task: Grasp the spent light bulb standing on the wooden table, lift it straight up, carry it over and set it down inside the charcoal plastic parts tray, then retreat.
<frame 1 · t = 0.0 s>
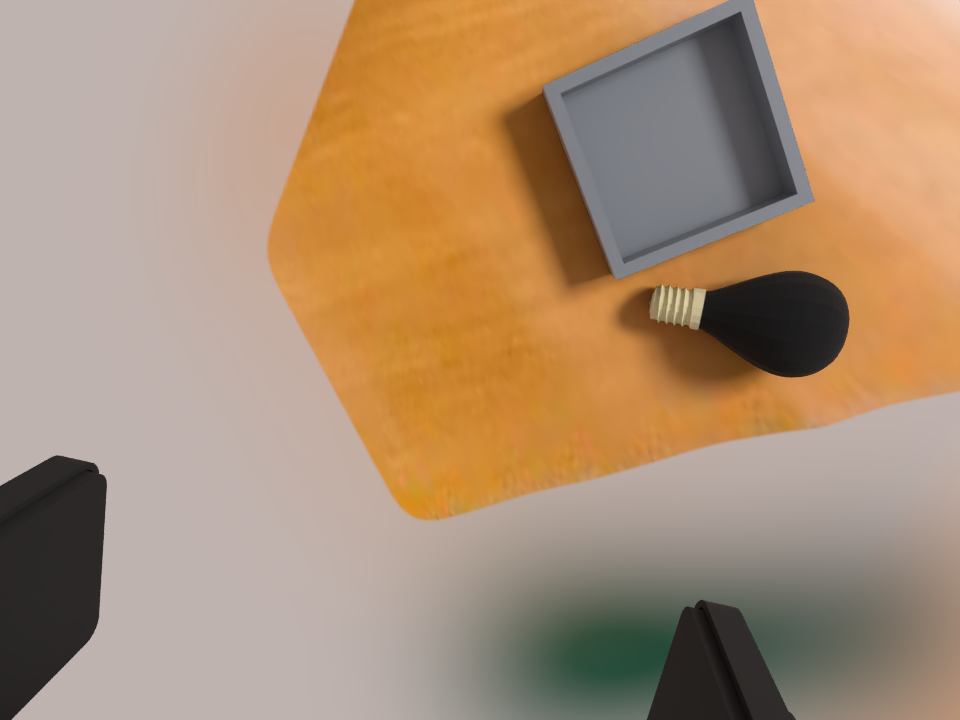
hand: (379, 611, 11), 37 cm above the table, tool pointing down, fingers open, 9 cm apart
parts tray: (669, 146, 43), on the table
light bulb: (734, 302, 46), on the table
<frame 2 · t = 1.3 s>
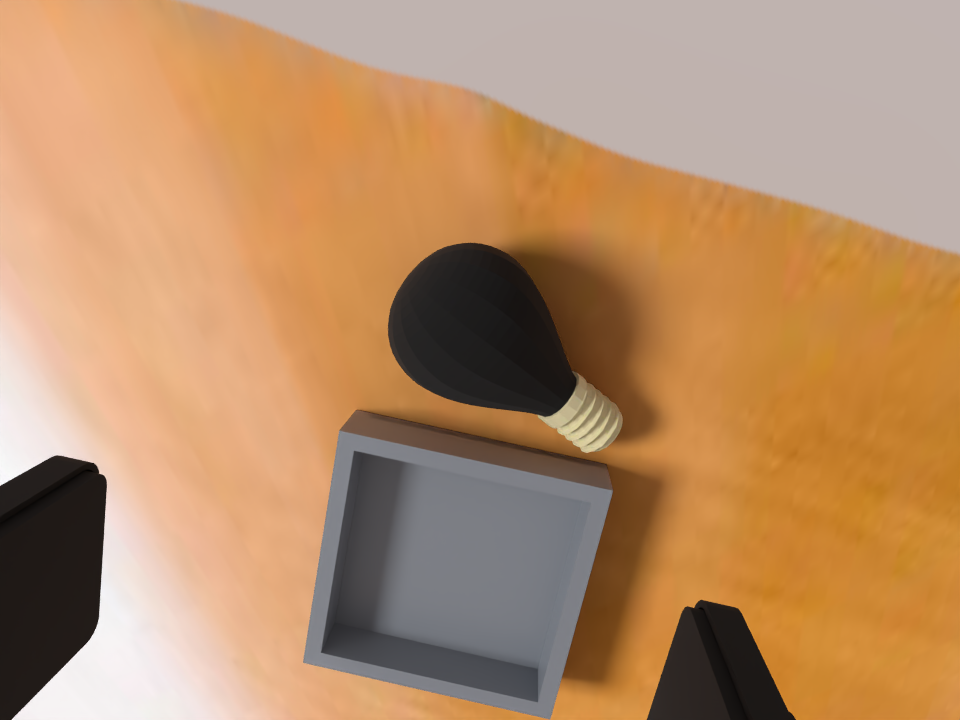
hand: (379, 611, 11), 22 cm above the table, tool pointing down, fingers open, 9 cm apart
parts tray: (456, 548, 35), on the table
light bulb: (509, 351, 32), on the table
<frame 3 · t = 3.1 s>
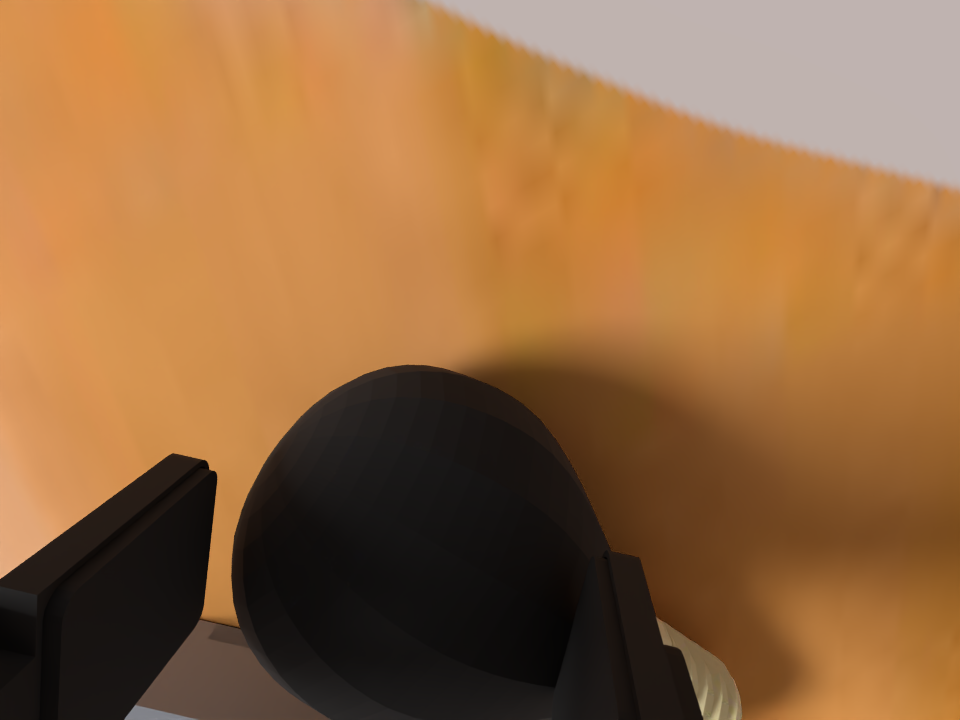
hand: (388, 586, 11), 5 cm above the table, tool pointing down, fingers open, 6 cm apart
light bulb: (508, 547, 17), on the table, touching gripper
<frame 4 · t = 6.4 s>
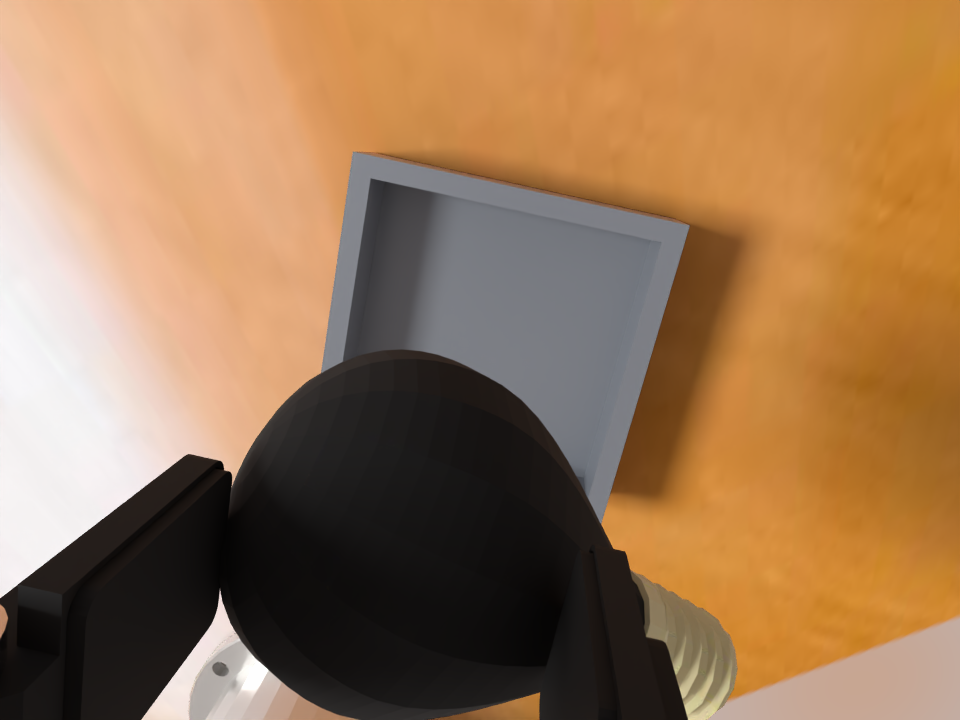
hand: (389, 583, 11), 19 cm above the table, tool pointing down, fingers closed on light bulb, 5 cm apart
parts tray: (490, 331, 29), on the table
light bulb: (502, 517, 17), point 13 cm above the table, touching gripper
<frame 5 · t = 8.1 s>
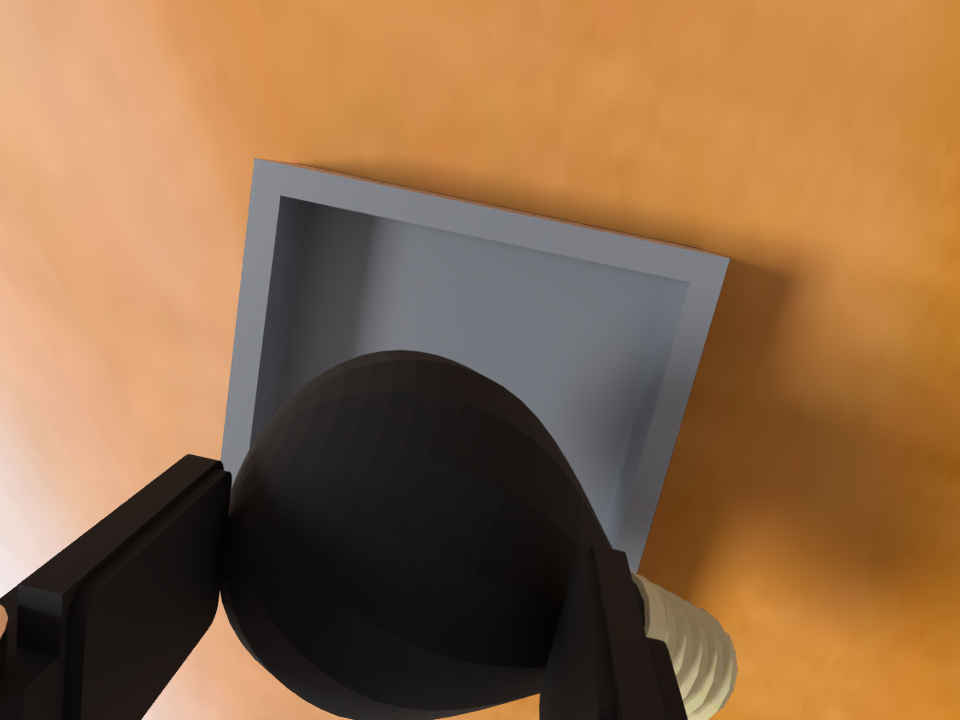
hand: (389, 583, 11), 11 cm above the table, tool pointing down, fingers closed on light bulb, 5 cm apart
parts tray: (456, 400, 22), on the table
light bulb: (502, 517, 17), point 6 cm above the table, touching gripper
when the fingers open (8 cm above the table, at t = 9.5 s): light bulb moves 1 cm, resting on parts tray.
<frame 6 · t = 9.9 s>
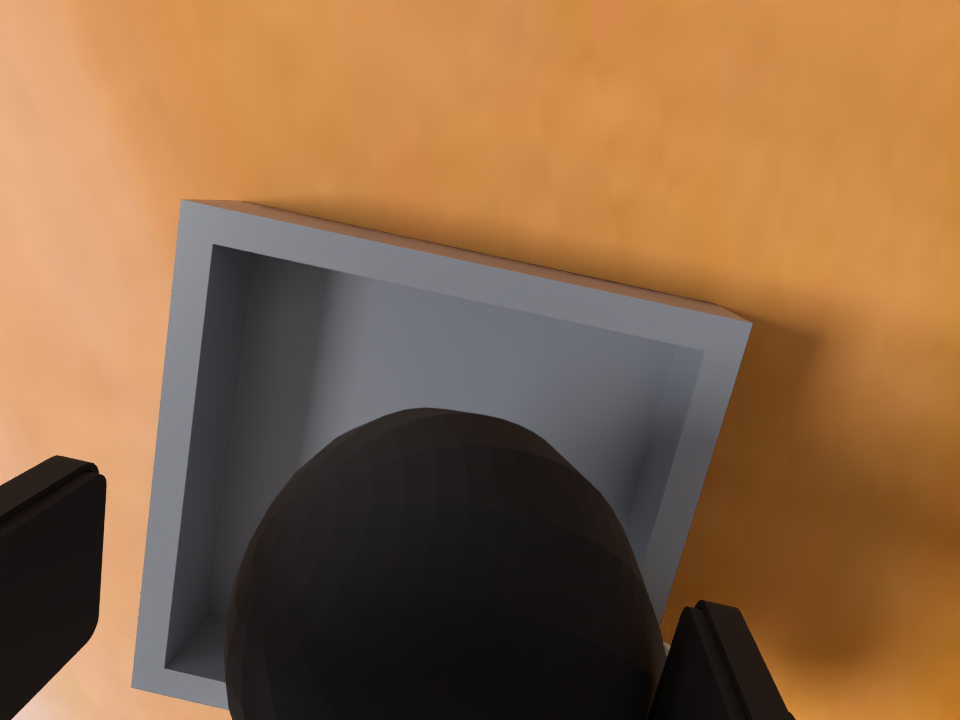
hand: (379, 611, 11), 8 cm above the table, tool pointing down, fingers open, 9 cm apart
parts tray: (429, 474, 19), on the table
light bulb: (494, 596, 15), point 4 cm above the table, touching gripper, parts tray
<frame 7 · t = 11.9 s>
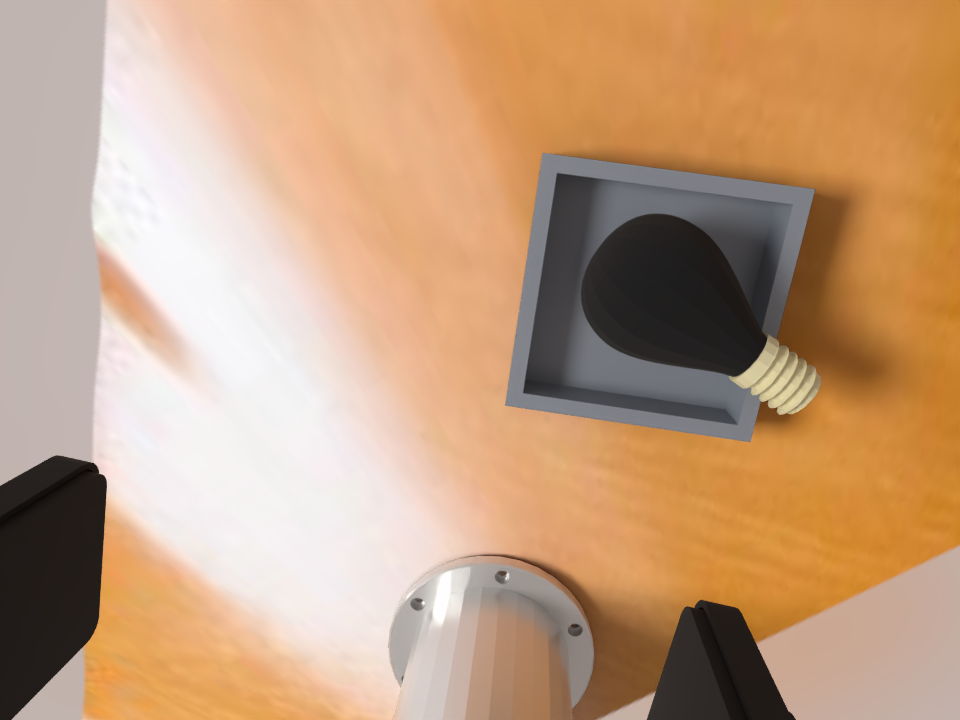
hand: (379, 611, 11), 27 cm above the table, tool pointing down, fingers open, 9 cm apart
parts tray: (641, 293, 36), on the table
light bulb: (698, 325, 34), point 2 cm above the table, touching parts tray
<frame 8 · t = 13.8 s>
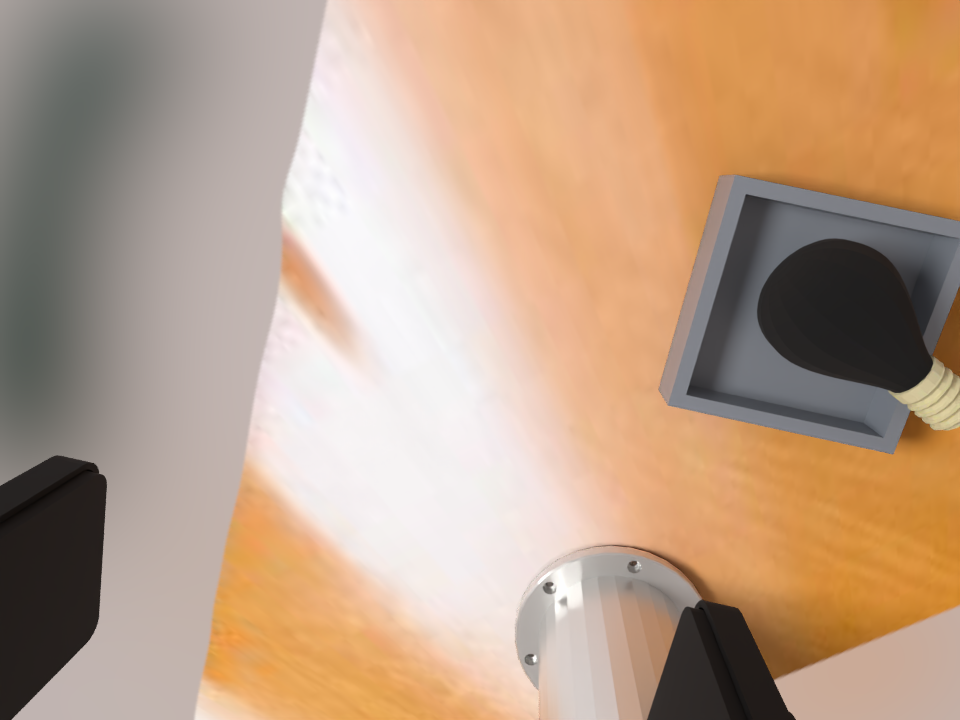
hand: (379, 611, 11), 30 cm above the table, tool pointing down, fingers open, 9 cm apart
parts tray: (796, 310, 39), on the table
light bulb: (854, 343, 37), point 2 cm above the table, touching parts tray
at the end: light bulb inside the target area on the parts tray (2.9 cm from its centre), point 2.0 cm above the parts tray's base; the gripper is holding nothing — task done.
